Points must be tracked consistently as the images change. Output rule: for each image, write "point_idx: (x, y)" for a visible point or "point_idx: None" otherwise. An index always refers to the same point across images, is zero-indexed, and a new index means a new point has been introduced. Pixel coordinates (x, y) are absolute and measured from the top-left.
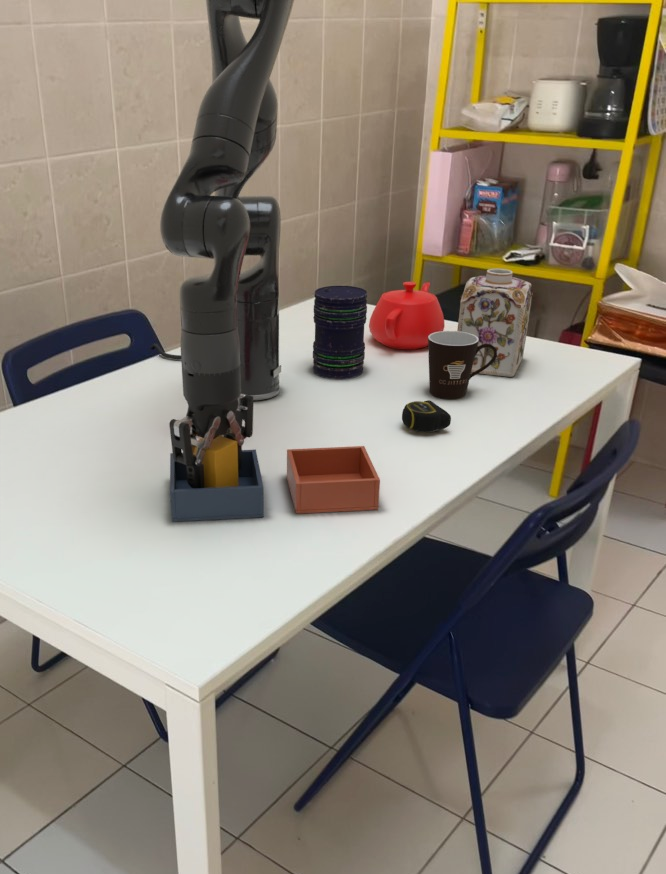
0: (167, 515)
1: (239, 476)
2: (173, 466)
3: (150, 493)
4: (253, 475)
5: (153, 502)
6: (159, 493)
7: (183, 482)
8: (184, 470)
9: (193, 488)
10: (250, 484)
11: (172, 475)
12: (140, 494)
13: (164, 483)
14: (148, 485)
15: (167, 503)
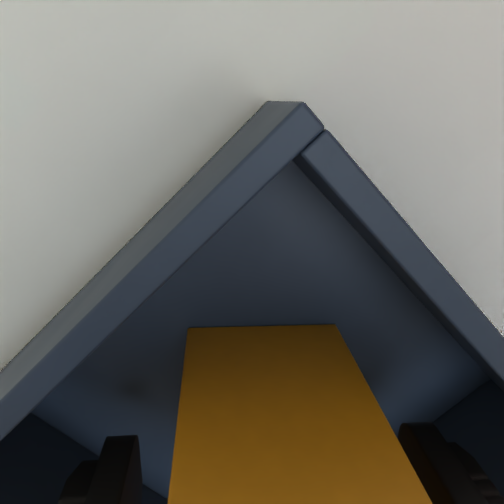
0: (7, 334)
1: (461, 348)
2: (135, 301)
3: (90, 105)
4: (458, 442)
5: (36, 195)
6: (125, 145)
7: (272, 187)
8: (314, 181)
9: (184, 358)
10: (422, 415)
11: (30, 393)
12: (39, 66)
13: (228, 77)
14: (148, 15)
15: (82, 255)
